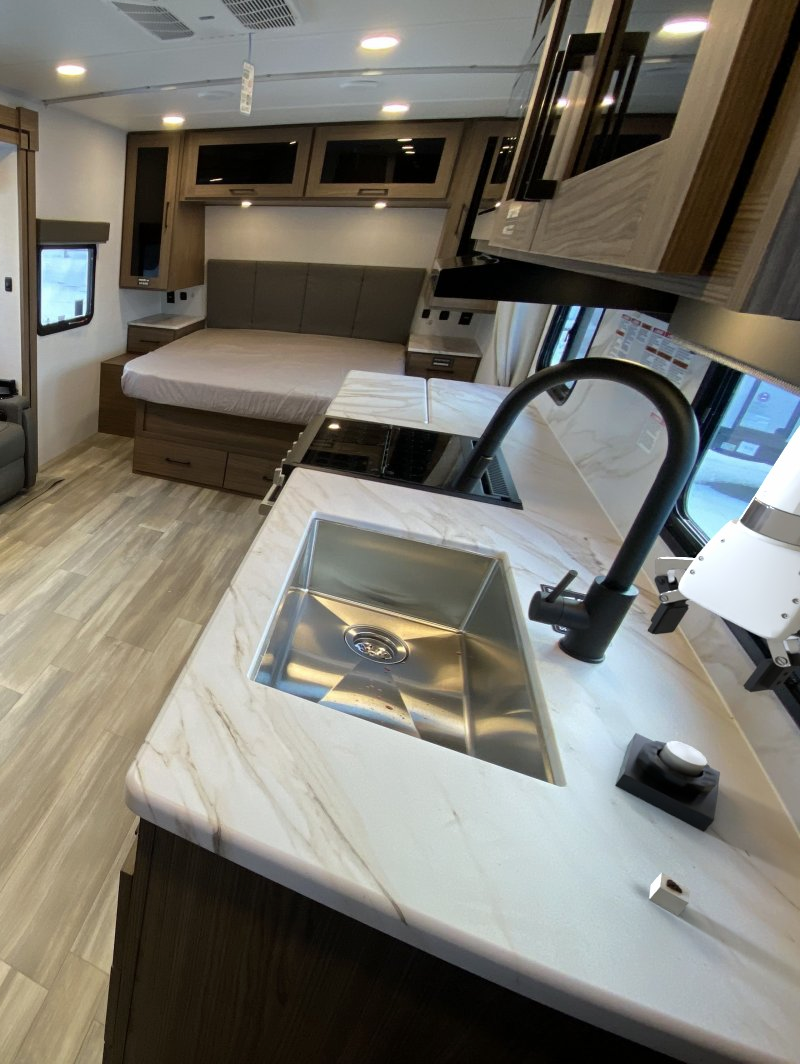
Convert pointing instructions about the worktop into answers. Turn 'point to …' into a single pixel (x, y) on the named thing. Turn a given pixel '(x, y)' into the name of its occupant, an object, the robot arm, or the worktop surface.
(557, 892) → the worktop surface
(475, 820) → the worktop surface
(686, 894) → the cube with dark pebbles
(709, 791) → the block
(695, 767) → the knob
